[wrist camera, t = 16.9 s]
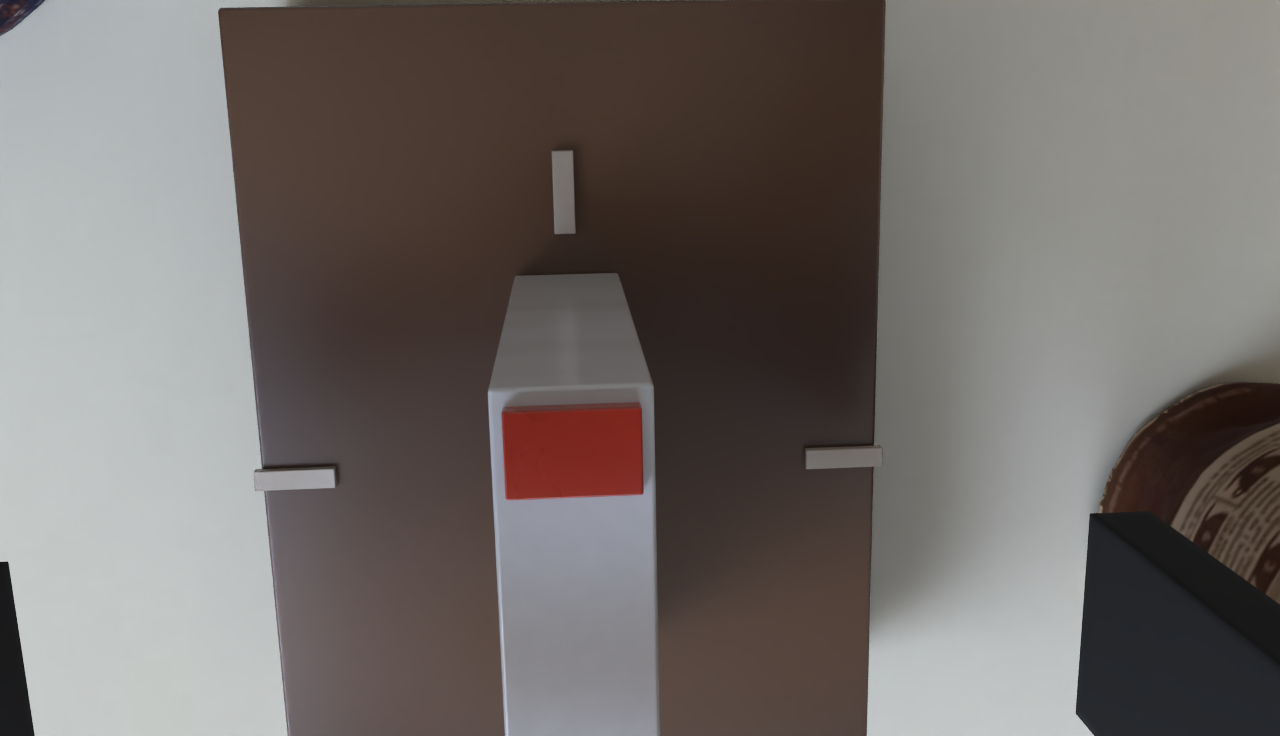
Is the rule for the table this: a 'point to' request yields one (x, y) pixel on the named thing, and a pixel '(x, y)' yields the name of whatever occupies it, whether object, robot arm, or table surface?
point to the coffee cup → (1212, 476)
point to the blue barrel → (15, 12)
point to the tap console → (552, 245)
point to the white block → (575, 511)
